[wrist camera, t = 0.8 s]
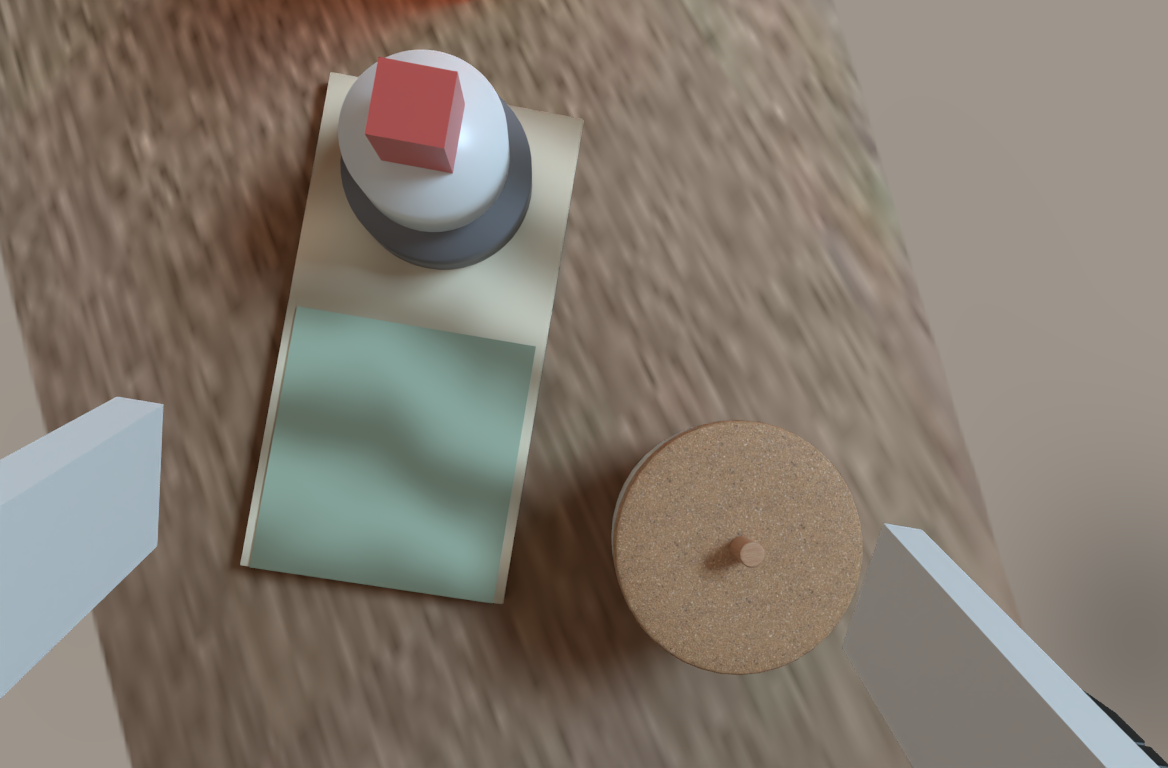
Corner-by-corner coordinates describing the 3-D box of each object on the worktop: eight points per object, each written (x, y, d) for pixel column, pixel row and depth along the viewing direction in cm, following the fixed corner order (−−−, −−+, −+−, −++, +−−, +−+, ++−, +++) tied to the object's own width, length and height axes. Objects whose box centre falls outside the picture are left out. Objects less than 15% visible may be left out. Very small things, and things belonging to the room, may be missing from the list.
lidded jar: (815, 606, 40) (901, 666, 30) (615, 640, 39) (640, 712, 30) (784, 404, 40) (860, 402, 31) (585, 434, 39) (600, 442, 30)
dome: (496, 244, 34) (487, 209, 28) (342, 217, 34) (301, 175, 28) (521, 96, 35) (518, 31, 29) (369, 68, 34) (334, -5, 28)
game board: (503, 599, 39) (500, 618, 35) (248, 561, 38) (218, 576, 34) (582, 126, 40) (587, 99, 36) (335, 80, 39) (315, 48, 36)
